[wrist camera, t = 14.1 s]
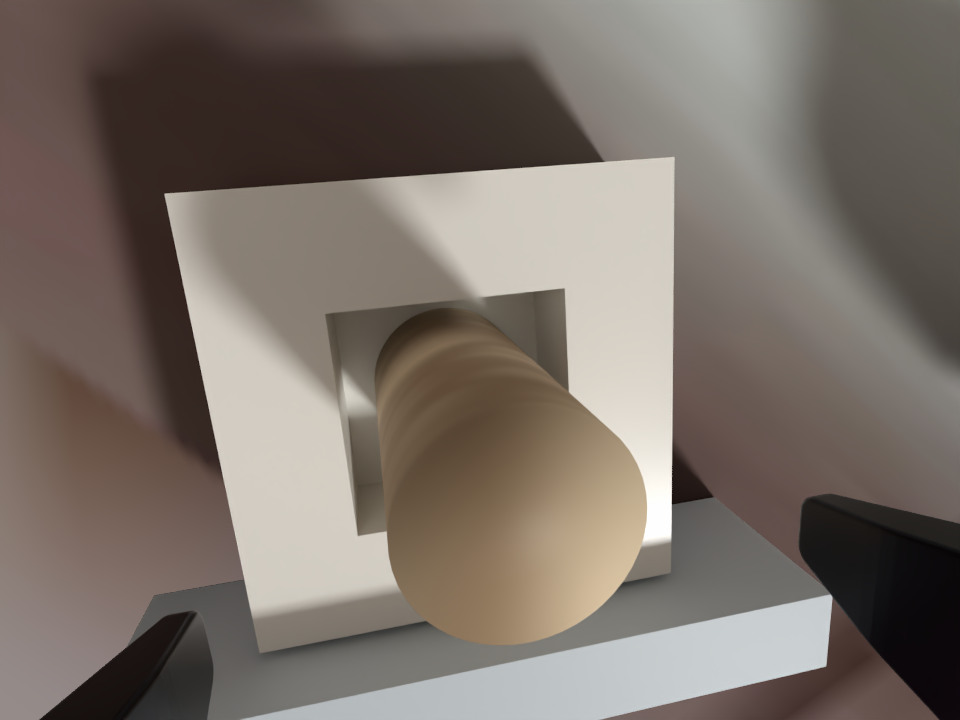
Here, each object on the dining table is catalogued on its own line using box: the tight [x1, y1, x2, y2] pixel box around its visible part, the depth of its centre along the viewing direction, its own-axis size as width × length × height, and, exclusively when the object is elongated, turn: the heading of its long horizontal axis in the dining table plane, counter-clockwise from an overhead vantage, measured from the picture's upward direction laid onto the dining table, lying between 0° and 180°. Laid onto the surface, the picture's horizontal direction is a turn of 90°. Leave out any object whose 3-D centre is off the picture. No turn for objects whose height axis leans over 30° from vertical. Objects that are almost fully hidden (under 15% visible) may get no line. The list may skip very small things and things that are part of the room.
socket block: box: [165, 157, 674, 653], centre depth 17 cm, size 12×12×4 cm
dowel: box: [374, 308, 647, 645], centre depth 14 cm, size 4×4×9 cm
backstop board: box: [127, 497, 832, 720], centre depth 19 cm, size 20×2×6 cm, turn 94°
